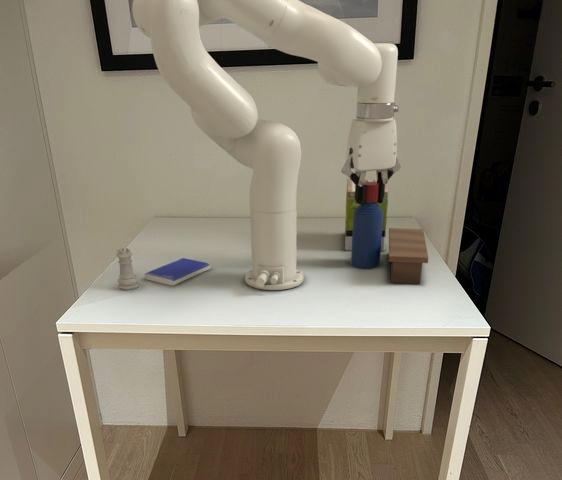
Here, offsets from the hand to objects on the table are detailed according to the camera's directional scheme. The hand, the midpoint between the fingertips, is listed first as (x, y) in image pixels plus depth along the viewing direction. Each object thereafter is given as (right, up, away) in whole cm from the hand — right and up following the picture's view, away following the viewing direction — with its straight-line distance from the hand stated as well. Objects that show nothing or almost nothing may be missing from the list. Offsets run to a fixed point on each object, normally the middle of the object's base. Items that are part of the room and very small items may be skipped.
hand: (369, 202), depth 128 cm
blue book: (-42, -16, +2) cm, 45 cm away
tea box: (+2, -4, +22) cm, 22 cm away
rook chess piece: (-52, -20, -5) cm, 56 cm away
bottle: (0, -12, +7) cm, 14 cm away
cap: (0, 0, 0) cm, 0 cm away
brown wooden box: (+9, -14, +4) cm, 17 cm away
